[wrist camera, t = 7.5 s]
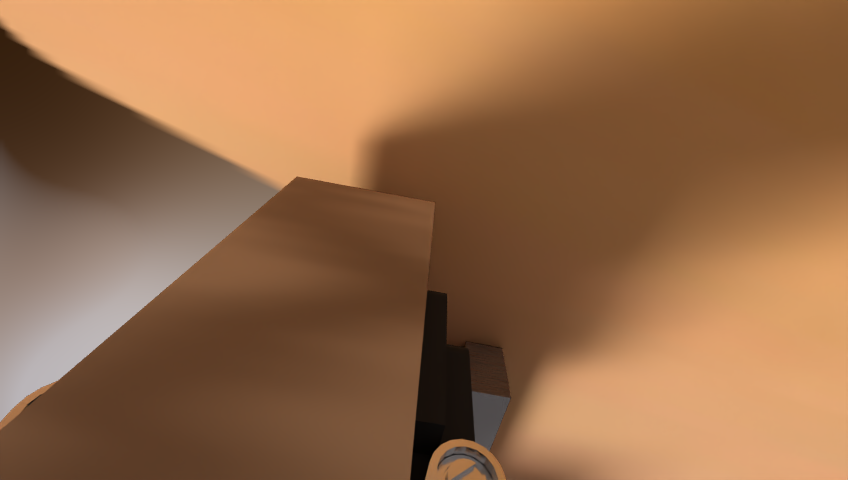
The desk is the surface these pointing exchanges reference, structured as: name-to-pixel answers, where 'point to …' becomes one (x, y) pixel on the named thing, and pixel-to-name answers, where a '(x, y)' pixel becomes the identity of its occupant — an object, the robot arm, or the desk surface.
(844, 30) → the desk surface
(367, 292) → the push block
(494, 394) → the stand
